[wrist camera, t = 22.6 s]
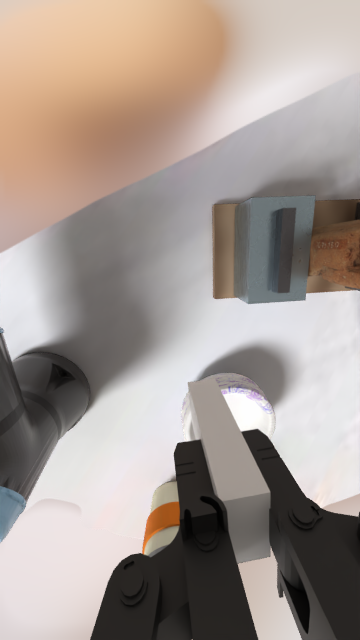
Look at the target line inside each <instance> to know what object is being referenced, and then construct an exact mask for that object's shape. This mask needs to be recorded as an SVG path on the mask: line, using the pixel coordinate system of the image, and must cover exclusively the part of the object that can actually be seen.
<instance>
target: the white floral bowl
mask: <svg viewBox="0 0 360 640" xmlns="http://www.w3.org/2000/svg"><path fill="white" fill-rule="evenodd" d="M214 378H215V380H216V382H217V384H218V386H219V388H220V390H221V392H222V394H223V396H224V398H225V400H226V402H227V404H228V406H229V408H230V410H231V412H232V415H233V417H234V419H235V421H236V423H237V425H238V427H239V429H240V431H247V430H253V429H259V430H260V431H261V432H263V433H264V434H265V435H267V436H268V438H269V439H271V437H272V435H273V432H274V429H275V413H274V410H273V407H272V405H271V403H270V402H269V400H268V399H267V397H266V396H265V394H264V393H263V392H262V390H261V389H260V387H259V386H258V385H257V384H256V383H255V382H254V381H252V380H251V379H249V378H248V377H245V376H243V375H240V374H236V373H218V374H215V375H211V376H208V377H206V378H204V379H202V380H207V379H214ZM200 381H201V380H200ZM181 418H182V424H183V433H184V438H185V441H186V442H187V441H193V440H196V439H195V434H194V430H193V425H192V417H191V408H190V399H189V391H188V393H187V394H186V396H185V398H184V401H183V404H182V408H181Z"/></svg>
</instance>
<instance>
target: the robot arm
mask: <svg viewBox="0 0 360 640" xmlns="http://www.w3.org/2000/svg"><path fill="white" fill-rule="evenodd" d="M3 333H4V330H3V329H2V328H1V327H0V542H2V541H3V539H4V538H5V537H6V536H7V534H8V533H9V531H10V529H11V528H12V526H13V524H14V523H15V521H16V519H17V518H18V517H19V515H20V514H21V513H22V512H23V511H24V509H25V507H26V502H27V500H28V498H29V496H30V494H31V492H32V490H33V488H34V486H35V484H36V482H37V481H38V479H39V477H40V475H41V473H42V471H43V469H44V467H45V465H46V463H47V461H48V459H49V457H50V455H51V454H52V452H53V450H54V448H55V446H56V444H57V442H58V440H59V439H60V438H61V437H62V436H63V435H64V434H65V433H66V432H67V431H69V430H70V429H71V428H73V427H74V426H75V425H76V424H77V423H78V422H79V421H80V419H81V418H82V416H83V415H84V413H85V410H86V408H87V406H88V403H89V400H90V388H89V384H88V381H87V379H86V377H85V375H84V374H83V372H82V371H81V370H80V369H79V368H78V367H77V366H76V365H75V364H74V363H72V362H71V361H69V360H68V359H66V358H64V357H61V356H59V355H56V354H51V353H44V352H37V353H30V354H26V355H23V356H21V357H19V358H17V359H15V360H14V361H11V358H10V355H9V352H8V349H7V346H6V342H5V339H4V336H3ZM188 390H189V399H190V408H191V417H192V425H193V430H194V434H195V439H196V440H193V441H187V442H181V443H177V446H176V449H175V452H174V461H175V470H176V480H177V489H178V499H179V508H180V517H179V521H180V526H179V530H178V532H177V534H176V536H175V538H174V539H173V541H172V542H171V543H170V544H169V545H168V546H167V547H165V548H164V549H163V550H161V551H160V552H158V553H157V554H155V555H153V556H152V557H150V556H147V555H144V554H141V553H139V554H133V555H130V556H128V557H127V558H125V559H123V560H122V561H121V562H120V563H119V564H118V566H117V567H116V568H115V570H114V571H113V573H112V575H111V578H110V580H109V582H108V585H107V588H106V591H105V594H104V597H103V600H102V603H101V607H100V610H99V613H98V616H97V620H96V623H95V626H94V629H93V633H92V636H91V639H90V640H192V639H193V640H258V637H257V634H256V630H255V627H254V623H253V619H252V616H251V612H250V609H249V604H248V601H247V597H246V593H245V590H244V586H243V583H242V579H241V575H240V572H239V568H238V563H243V562H247V561H252V560H257V559H262V558H266V557H270V546H271V548H272V551H273V553H274V555H275V558H276V560H277V563H278V569H277V572H278V573H277V574H278V575H277V588H278V593H279V597H280V598H281V597H283V591H284V593H285V596H286V599H287V601H288V604H289V606H290V609H291V611H292V614H293V617H294V619H295V622H296V625H297V627H298V630H299V633H300V635H301V638H302V640H360V512H359V517H356V516H350V515H344V514H337V513H333V512H329V511H326V510H324V509H322V508H320V507H319V506H318V505H317V504H316V503H315V502H313V501H312V500H310V499H309V498H307V497H306V496H305V495H304V493H303V492H302V491H301V489H300V487H299V486H298V484H297V483H296V481H295V479H294V478H293V476H292V475H291V473H290V471H289V470H288V468H287V466H286V465H285V463H284V462H283V460H282V458H280V455H279V454H278V452H277V450H276V449H275V448H274V446H273V444H272V442H271V441H270V439H269V438H268V436H267V435H265V434H264V433H263V432H261V431H260V430H259V429H253V430H247V431H240V429H239V427H238V425H237V423H236V421H235V419H234V417H233V415H232V412H231V410H230V408H229V406H228V404H227V402H226V400H225V398H224V396H223V394H222V392H221V390H220V388H219V386H218V384H217V382H216V380H215V378H214V379H207V380H201V381H194V382H188Z"/></svg>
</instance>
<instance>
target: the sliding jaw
mask: <svg viewBox="0 0 360 640" xmlns="http://www.w3.org/2000/svg"><path fill="white" fill-rule="evenodd" d="M315 196H316V195H313V196H284V197H255V198H250V199H248V200H246V201H245V202H243V203H241V204H239V205H238V206H236V207H235V238H234V296H236V297H237V298H239V299H241V300H242V301H244V302H246V303H247V304H254V303H270V302H285V301H301V300H305V298H306V288H307V278H308V267H309V257H310V247H311V237H312V227H313V216H314V206H315Z"/></svg>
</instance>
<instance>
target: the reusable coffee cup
mask: <svg viewBox="0 0 360 640" xmlns="http://www.w3.org/2000/svg"><path fill="white" fill-rule="evenodd" d="M179 517H180V508H179V499H178V489H177V481H173V482H168V483H165V484H163V485H161V486H160V487H158V488H157V489H156V491H155V492H154V494H153V498H152V505H151V512H150V515H149V517H148V520H147V524H146V530H145V536H144V542H143V551H142V552H143V554H144V555H147V556H150V557H152V556H153V555H155V554H157V553H158V552H160V551H161V550H163V549H164V548H165V547H167V546H168V545H169V544H170V543H171V542H172V541H173V539H174V538H175V536H176V534H177V532H178V530H179V526H180V521H179Z"/></svg>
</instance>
